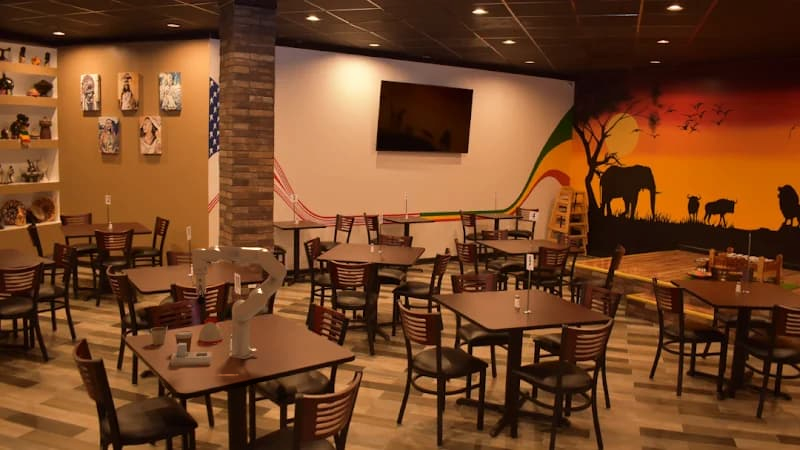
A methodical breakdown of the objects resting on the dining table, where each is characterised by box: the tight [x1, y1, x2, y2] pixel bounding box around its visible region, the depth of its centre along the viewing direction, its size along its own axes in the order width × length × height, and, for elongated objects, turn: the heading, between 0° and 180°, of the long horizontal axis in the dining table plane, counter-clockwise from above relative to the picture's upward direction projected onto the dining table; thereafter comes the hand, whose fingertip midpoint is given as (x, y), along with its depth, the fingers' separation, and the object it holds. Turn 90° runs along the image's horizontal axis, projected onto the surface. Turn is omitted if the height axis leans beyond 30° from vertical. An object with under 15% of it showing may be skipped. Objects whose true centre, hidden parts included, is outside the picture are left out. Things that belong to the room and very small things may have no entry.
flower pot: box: [149, 326, 168, 346], centre depth 396 cm, size 9×9×9 cm
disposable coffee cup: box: [174, 330, 193, 352], centre depth 379 cm, size 10×10×12 cm
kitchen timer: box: [198, 315, 224, 345], centre depth 405 cm, size 14×14×15 cm
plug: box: [176, 343, 187, 357], centre depth 360 cm, size 5×4×10 cm
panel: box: [170, 351, 213, 367], centre depth 362 cm, size 20×10×5 cm, turn 102°
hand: (201, 302), depth 369 cm, fingers open, 9 cm apart
